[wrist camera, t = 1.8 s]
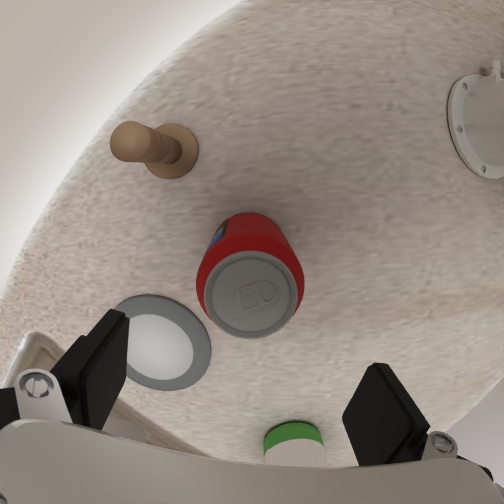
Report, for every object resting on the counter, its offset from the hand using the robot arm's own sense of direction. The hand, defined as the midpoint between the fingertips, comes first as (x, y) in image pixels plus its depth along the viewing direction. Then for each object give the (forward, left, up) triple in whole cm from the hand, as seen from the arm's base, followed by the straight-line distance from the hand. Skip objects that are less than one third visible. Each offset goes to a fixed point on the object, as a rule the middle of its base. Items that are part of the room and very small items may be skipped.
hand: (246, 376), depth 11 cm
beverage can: (0, 0, -19) cm, 19 cm away
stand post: (-7, -9, -19) cm, 22 cm away
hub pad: (+13, -7, -19) cm, 24 cm away
